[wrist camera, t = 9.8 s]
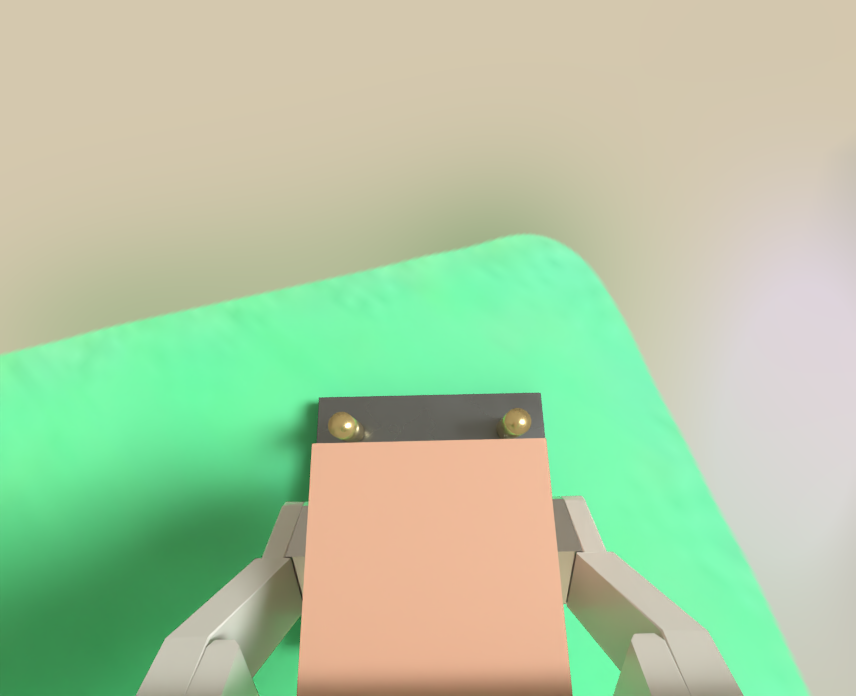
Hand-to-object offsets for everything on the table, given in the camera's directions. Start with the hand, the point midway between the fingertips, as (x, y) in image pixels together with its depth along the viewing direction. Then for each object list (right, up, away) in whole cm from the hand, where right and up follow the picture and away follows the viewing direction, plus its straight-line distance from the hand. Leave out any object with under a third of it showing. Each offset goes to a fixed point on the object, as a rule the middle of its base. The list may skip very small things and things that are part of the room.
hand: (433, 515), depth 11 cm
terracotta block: (0, -2, +4) cm, 4 cm away
